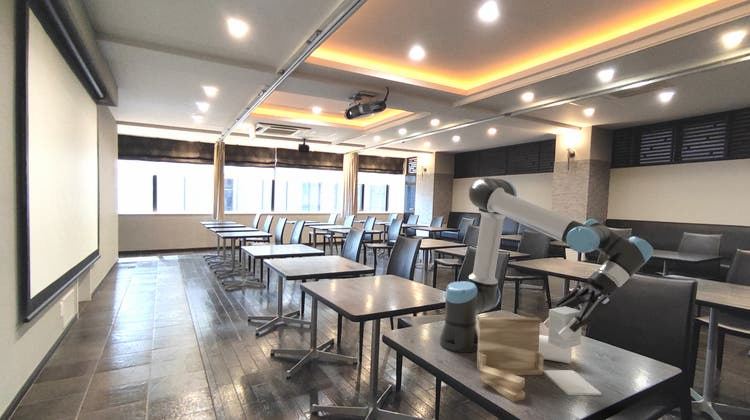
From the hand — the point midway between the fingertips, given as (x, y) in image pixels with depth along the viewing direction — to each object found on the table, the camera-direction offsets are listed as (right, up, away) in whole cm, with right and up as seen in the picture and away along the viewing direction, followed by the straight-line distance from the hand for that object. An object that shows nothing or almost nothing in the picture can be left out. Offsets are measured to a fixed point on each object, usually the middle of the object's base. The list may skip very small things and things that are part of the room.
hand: (553, 331), depth 110 cm
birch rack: (-10, -16, +9) cm, 21 cm away
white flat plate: (+6, -17, +2) cm, 18 cm away
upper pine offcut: (-17, -14, -2) cm, 22 cm away
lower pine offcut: (-17, -17, -2) cm, 24 cm away
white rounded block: (+10, -17, +20) cm, 28 cm away
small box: (+3, -4, 0) cm, 5 cm away
